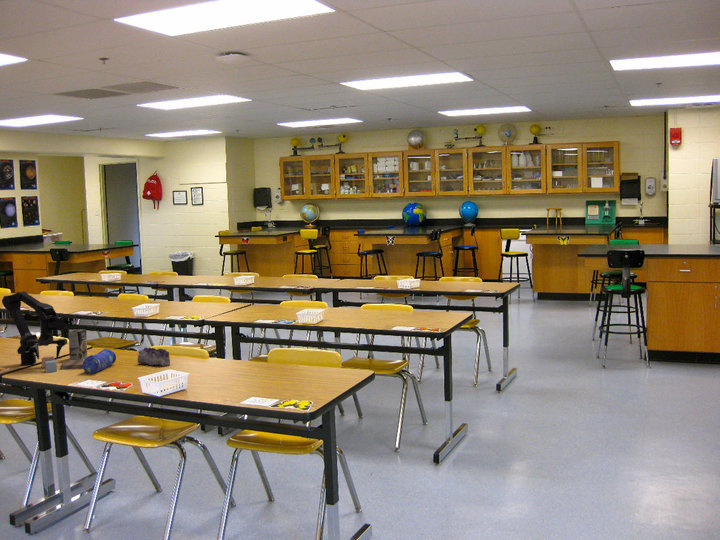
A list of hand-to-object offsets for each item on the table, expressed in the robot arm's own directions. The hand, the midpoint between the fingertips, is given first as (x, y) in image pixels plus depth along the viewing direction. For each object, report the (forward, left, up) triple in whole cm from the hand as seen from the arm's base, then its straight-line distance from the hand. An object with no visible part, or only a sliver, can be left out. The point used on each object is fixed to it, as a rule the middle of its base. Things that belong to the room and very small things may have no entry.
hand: (47, 358), depth 359 cm
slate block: (+4, -12, -4) cm, 13 cm away
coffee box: (+12, +15, -4) cm, 20 cm away
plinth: (+14, -3, -4) cm, 15 cm away
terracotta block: (0, 0, -4) cm, 4 cm away
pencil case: (+28, -13, -4) cm, 31 cm away
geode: (+55, -6, -5) cm, 56 cm away
